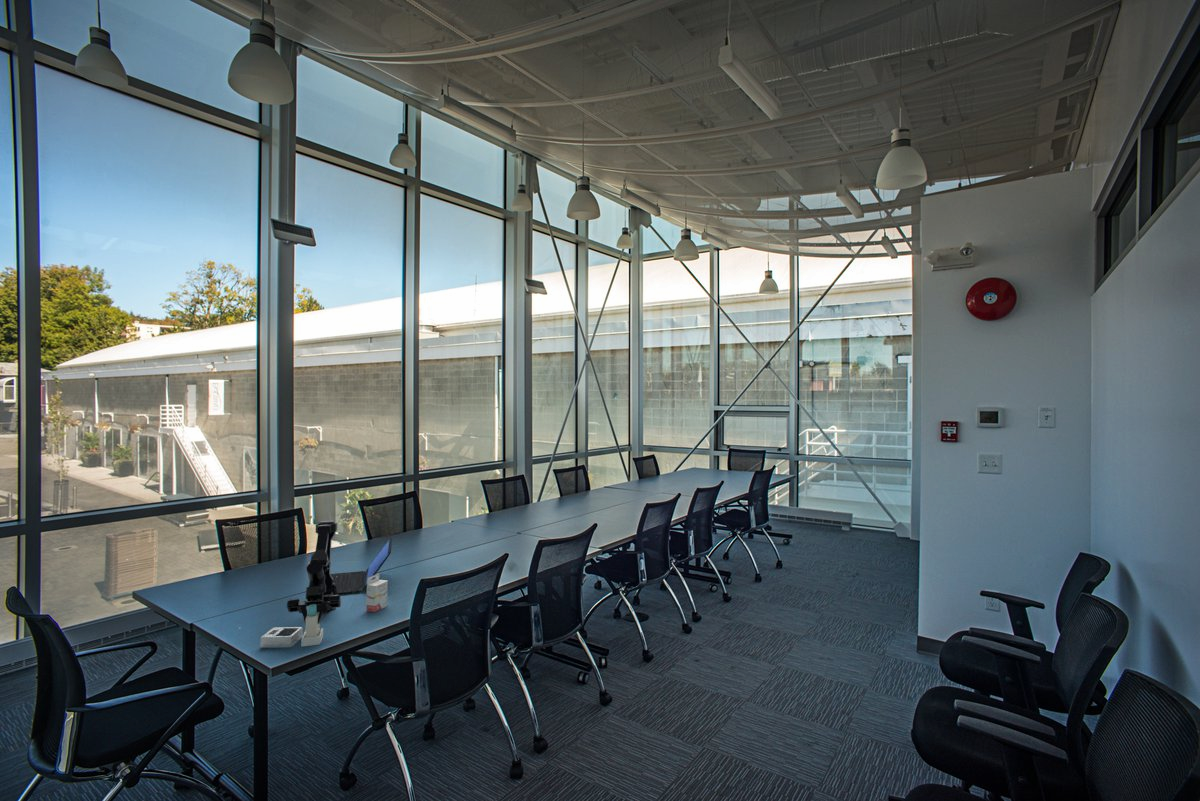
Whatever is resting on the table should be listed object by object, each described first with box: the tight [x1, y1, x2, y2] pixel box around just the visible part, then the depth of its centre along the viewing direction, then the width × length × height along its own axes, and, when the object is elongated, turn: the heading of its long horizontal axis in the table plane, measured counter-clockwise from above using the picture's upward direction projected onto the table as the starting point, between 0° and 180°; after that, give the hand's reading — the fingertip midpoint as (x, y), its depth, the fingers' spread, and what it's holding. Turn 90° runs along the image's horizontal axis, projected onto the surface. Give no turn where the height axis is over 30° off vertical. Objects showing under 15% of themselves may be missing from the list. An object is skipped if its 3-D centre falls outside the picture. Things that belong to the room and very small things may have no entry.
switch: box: [260, 626, 304, 649], centre depth 220 cm, size 11×9×4 cm
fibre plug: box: [305, 604, 320, 638], centre depth 221 cm, size 4×6×14 cm, turn 18°
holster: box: [300, 627, 324, 647], centre depth 221 cm, size 6×8×3 cm
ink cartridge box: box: [365, 572, 389, 613], centre depth 256 cm, size 9×5×15 cm, turn 163°
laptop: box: [330, 536, 393, 596], centre depth 289 cm, size 33×38×19 cm
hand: (312, 624), depth 220 cm, fingers closed on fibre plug, 4 cm apart
